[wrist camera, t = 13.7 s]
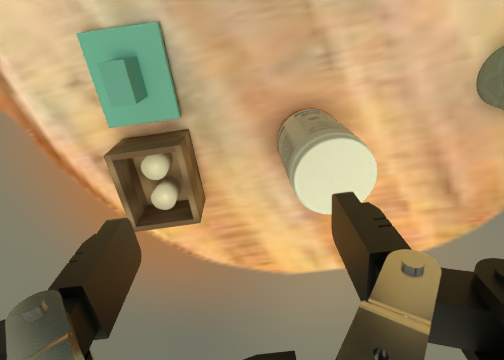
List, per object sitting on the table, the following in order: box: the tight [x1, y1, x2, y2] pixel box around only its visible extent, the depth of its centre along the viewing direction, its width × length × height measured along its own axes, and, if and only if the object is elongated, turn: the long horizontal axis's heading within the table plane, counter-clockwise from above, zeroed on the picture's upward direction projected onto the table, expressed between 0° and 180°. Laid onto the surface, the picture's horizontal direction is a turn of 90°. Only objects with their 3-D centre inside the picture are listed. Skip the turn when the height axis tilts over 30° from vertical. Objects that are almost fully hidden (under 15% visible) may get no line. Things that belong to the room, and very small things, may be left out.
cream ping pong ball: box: [141, 152, 173, 180], centre depth 44 cm, size 4×4×4 cm
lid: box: [76, 22, 181, 128], centre depth 38 cm, size 12×10×7 cm
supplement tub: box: [277, 109, 377, 214], centre depth 39 cm, size 10×10×15 cm
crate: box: [104, 129, 205, 232], centre depth 44 cm, size 12×10×7 cm
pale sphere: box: [151, 177, 181, 210], centre depth 46 cm, size 4×4×4 cm
